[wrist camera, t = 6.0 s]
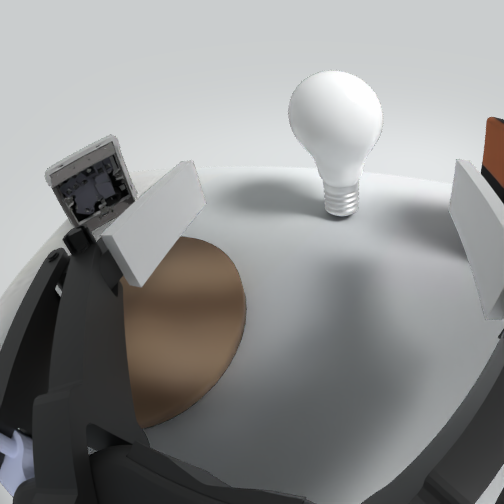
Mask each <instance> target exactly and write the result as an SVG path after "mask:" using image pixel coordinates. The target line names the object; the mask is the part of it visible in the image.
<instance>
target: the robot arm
mask: <svg viewBox="0 0 504 504" xmlns="http://www.w3.org/2000/svg"><path fill="white" fill-rule="evenodd" d="M206 204H207V203H206V200H205V197H204V194H203V191H202V187H201V184H200V181H199V178H198V175H197V171H196V168H195V165H194V161H193V160H190V161H182V162H180V163H179V164H178V165H177V166H175V167H174V168H173V169H172V170H170V171H169V172H168V173H167V174H166V175H164V176H163V177H162V178H161V179H160V180H159V181H157V182H156V183H155V184H154V185H153V186H152V187H150V188H149V189H148V190H147V191H146V192H145V193H144V194H143V195H141V196H140V197H139V198H138V199H137V200H136V201H135V202H134V203H133V204H132V205H131V206H129V207H128V208H127V209H126V210H125V211H124V212H123V213H122V214H121V215H120V216H119V217H118V218H117V219H116V220H115V221H114V222H113V223H112V224H111V225H110V226H109V227H108V228H107V229H106V230H105V231H104V232H103V233H102V234H101V235H100V236H101V238H100V239H99V240H98V241H97V242H96V240H95V238H94V236H93V235H92V233H91V231H90V229H89V227H88V225H87V224H81V225H78V226H76V227H75V228H73V229H72V230H70V231H69V232H68V233H67V234H66V235H65V236H64V238H63V241H64V243H65V244H66V246H67V248H68V249H69V251H70V253H71V254H72V255H71V256H68V255H67V253H66V252H65V250H64V248H59V249H57V250H54V251H52V252H51V253H50V254H49V255H48V256H47V258H46V259H45V261H44V262H43V264H42V266H41V267H40V269H39V271H38V273H37V274H36V276H35V278H34V280H33V282H32V283H31V285H30V287H29V289H28V291H27V293H26V295H25V297H24V299H23V301H22V303H21V305H20V307H19V309H18V311H17V313H16V315H15V318H14V320H13V322H12V324H11V327H10V329H9V331H8V334H7V336H6V339H5V341H4V344H3V346H2V349H1V351H0V482H1V483H2V485H3V486H4V487H5V489H6V490H7V491H8V492H9V493H10V495H12V497H13V504H315V503H313V502H311V501H309V500H306V497H301V496H296V495H290V494H285V493H280V492H276V491H270V490H259V489H243V488H232V487H231V486H229V485H227V484H226V483H224V482H223V481H221V480H219V479H218V478H216V477H215V476H213V475H212V474H210V473H209V472H207V471H205V470H203V469H200V468H198V467H195V466H193V465H190V464H188V463H185V462H183V461H181V460H178V459H176V458H173V457H171V456H168V455H166V454H163V453H161V452H159V451H157V450H154V449H152V448H150V445H149V442H148V439H147V437H146V435H145V433H144V431H143V430H142V429H141V427H140V426H139V424H138V422H137V420H136V416H135V410H134V404H133V398H132V392H131V385H130V377H129V369H128V360H127V350H126V339H125V325H124V305H123V286H122V283H121V282H120V279H121V277H122V276H123V275H124V277H125V279H126V280H127V282H128V283H129V285H131V286H136V287H142V286H143V285H144V284H145V282H146V281H147V280H148V278H149V277H150V275H151V274H152V273H153V271H154V270H155V269H156V267H157V266H158V265H159V263H160V262H161V261H162V259H163V258H164V257H165V255H166V254H167V253H168V252H169V250H170V249H171V248H172V246H173V245H174V244H175V242H176V241H177V240H178V239H179V237H180V236H181V235H182V233H183V232H184V231H185V230H186V228H187V227H188V226H189V225H190V223H191V222H192V221H193V220H194V218H195V217H196V216H197V215H198V214H199V212H200V211H201V210H202V209H203V207H204V206H205V205H206ZM448 211H449V213H450V215H451V218H452V220H453V222H454V225H455V227H456V229H457V232H458V234H459V237H460V239H461V242H462V244H463V247H464V250H465V253H466V255H467V258H468V261H469V264H470V267H471V270H472V273H473V276H474V280H475V283H476V286H477V290H478V293H479V297H480V301H481V305H482V309H483V313H484V317H485V320H502V318H503V317H504V204H503V203H502V201H501V200H500V198H499V197H498V196H497V194H496V193H495V192H494V190H493V189H492V188H491V186H490V185H489V184H488V182H487V181H486V180H485V179H484V177H483V176H482V175H481V174H480V172H479V171H478V170H477V169H476V168H475V166H474V165H473V164H472V163H471V162H470V161H467V160H460V159H456V166H455V174H454V181H453V187H452V193H451V199H450V204H449V210H448ZM56 285H58V287H59V288H60V289H61V291H62V295H61V297H60V296H59V294H58V293H57V292H56V290H55V287H56ZM498 338H500V340H499V342H498V344H497V346H496V348H495V350H494V352H493V354H492V355H491V357H490V359H489V361H488V363H487V364H486V366H485V368H484V370H483V371H482V373H481V375H480V376H479V378H478V379H477V381H476V383H475V384H474V386H473V387H472V389H471V390H470V392H469V393H468V395H467V396H466V398H465V399H464V401H463V402H462V403H461V405H460V406H459V408H458V409H457V410H456V412H455V413H454V414H453V416H452V417H451V418H450V420H449V421H448V422H447V423H446V425H445V426H444V427H443V428H442V430H441V431H440V432H439V433H438V434H437V436H436V437H435V438H434V439H433V440H432V441H431V443H430V444H429V445H428V446H427V447H426V448H425V449H424V450H423V451H422V452H421V454H420V455H419V456H418V457H417V458H416V459H415V460H414V461H413V462H412V463H411V464H410V465H409V466H408V467H407V468H406V469H405V470H404V471H403V472H402V473H401V474H399V475H398V476H397V477H396V478H395V479H394V480H393V481H392V482H391V483H389V484H388V485H387V486H385V487H384V488H382V489H381V490H379V491H378V492H376V493H375V494H373V495H372V496H370V497H369V498H368V499H366V500H365V501H364V502H362V503H361V504H475V502H476V501H477V500H478V499H479V497H480V496H481V495H482V494H483V492H484V491H485V490H486V488H487V487H488V486H489V484H490V483H491V481H492V480H493V479H494V477H495V476H496V474H497V473H498V471H499V470H500V468H501V467H502V465H503V464H504V329H503V331H502V332H501V334H500V335H499V336H498ZM17 428H20V430H19V429H17ZM87 446H88V447H90V448H93V449H95V450H97V452H95V453H93V454H90V455H89V454H88V447H87ZM495 504H504V488H503V490H502V492H501V493H500V495H499V497H498V499H497V501H496V503H495Z"/></svg>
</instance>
